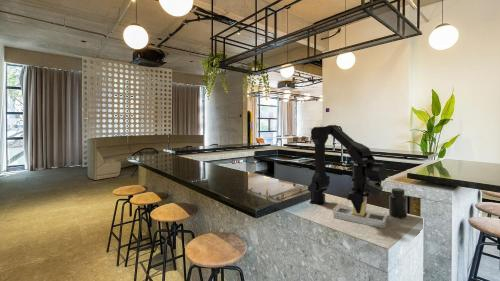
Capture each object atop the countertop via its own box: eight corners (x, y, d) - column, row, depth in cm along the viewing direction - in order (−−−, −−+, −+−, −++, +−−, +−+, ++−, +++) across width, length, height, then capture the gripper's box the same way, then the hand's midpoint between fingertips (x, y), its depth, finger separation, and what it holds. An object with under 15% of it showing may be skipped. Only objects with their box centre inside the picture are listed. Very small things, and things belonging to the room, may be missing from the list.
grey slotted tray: (333, 217, 108) (333, 212, 108) (338, 211, 115) (338, 206, 114) (384, 228, 96) (384, 222, 96) (387, 221, 103) (387, 215, 102)
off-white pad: (333, 209, 117) (333, 208, 117) (338, 204, 124) (338, 203, 124) (355, 214, 111) (355, 213, 111) (359, 208, 118) (359, 207, 118)
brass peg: (352, 220, 105) (353, 197, 104) (355, 216, 108) (355, 194, 108) (364, 222, 102) (364, 199, 101) (366, 218, 106) (366, 196, 105)
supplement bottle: (400, 212, 112) (400, 187, 111) (410, 218, 105) (411, 191, 104) (385, 213, 111) (386, 187, 110) (394, 219, 105) (395, 192, 104)
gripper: (377, 183, 92) (376, 223, 93) (384, 173, 106) (384, 208, 108) (346, 179, 98) (346, 217, 99) (357, 171, 113) (357, 203, 114)
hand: (359, 211), depth 105 cm, fingers closed on brass peg, 4 cm apart
